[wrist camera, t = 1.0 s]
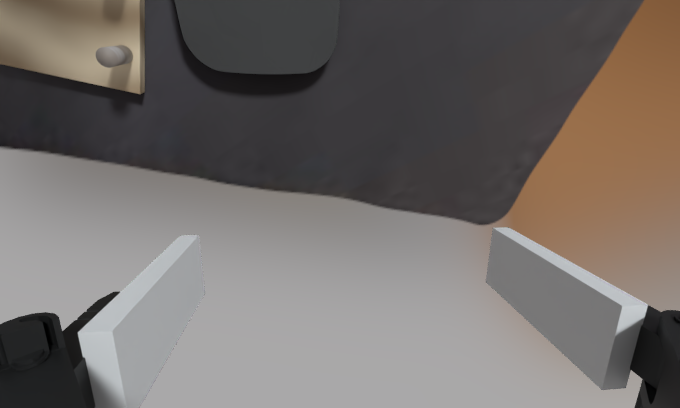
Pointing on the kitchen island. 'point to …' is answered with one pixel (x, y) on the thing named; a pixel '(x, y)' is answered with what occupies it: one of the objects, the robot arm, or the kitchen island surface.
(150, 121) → the kitchen island surface
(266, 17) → the media streaming box
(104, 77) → the peg board
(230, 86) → the kitchen island surface
